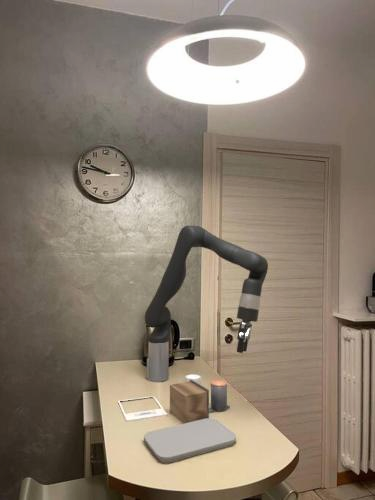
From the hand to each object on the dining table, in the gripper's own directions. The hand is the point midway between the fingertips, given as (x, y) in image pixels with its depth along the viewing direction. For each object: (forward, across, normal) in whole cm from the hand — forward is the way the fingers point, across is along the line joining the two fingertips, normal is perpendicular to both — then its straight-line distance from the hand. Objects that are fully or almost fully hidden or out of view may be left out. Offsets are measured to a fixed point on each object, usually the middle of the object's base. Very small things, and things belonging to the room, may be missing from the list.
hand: (241, 351), depth 134 cm
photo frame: (+29, +2, -33) cm, 44 cm away
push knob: (+22, -6, -6) cm, 24 cm away
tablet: (+29, +19, -8) cm, 36 cm away
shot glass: (+22, -18, -19) cm, 34 cm away
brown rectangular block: (+24, -1, -10) cm, 26 cm away
